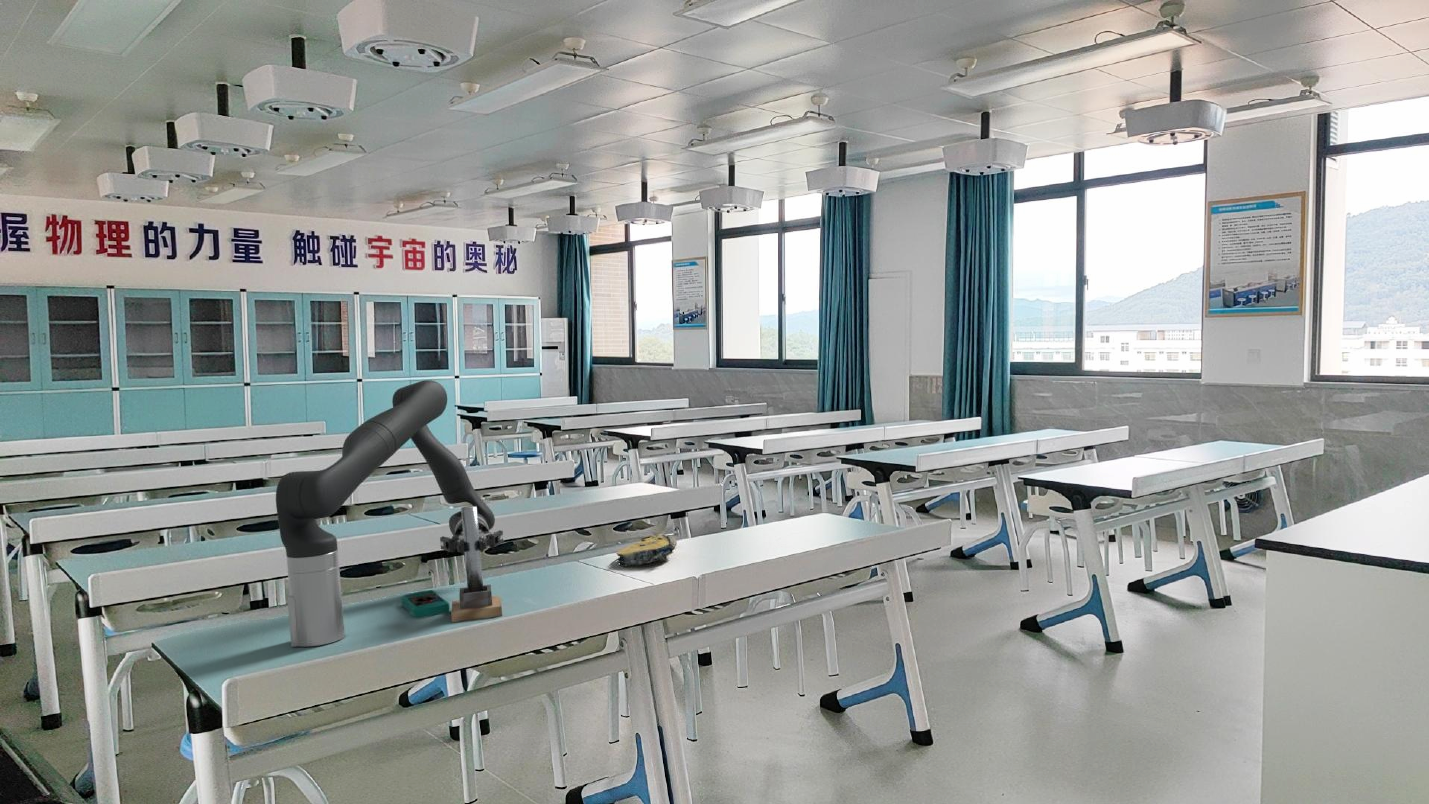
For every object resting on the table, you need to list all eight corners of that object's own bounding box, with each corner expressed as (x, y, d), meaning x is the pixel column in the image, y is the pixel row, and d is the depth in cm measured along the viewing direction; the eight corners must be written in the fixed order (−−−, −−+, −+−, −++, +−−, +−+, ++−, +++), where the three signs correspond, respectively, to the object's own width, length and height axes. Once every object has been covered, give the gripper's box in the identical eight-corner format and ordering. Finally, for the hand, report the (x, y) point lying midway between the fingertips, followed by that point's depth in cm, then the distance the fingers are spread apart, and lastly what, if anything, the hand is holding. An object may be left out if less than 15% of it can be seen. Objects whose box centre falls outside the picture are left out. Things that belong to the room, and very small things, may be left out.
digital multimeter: (415, 620, 196) (414, 607, 195) (401, 606, 209) (400, 593, 208) (450, 614, 199) (449, 600, 199) (434, 600, 212) (433, 588, 212)
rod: (467, 595, 195) (461, 509, 194) (467, 591, 198) (461, 507, 197) (483, 593, 196) (477, 507, 195) (483, 589, 199) (476, 505, 198)
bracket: (451, 622, 191) (450, 597, 190) (452, 610, 200) (451, 587, 200) (502, 615, 193) (500, 591, 193) (500, 604, 203) (499, 581, 203)
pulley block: (691, 521, 256) (655, 544, 227) (695, 542, 256) (660, 568, 227) (643, 530, 260) (602, 553, 231) (648, 551, 260) (607, 577, 231)
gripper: (437, 520, 208) (435, 533, 191) (502, 513, 212) (505, 526, 195) (440, 553, 208) (438, 569, 192) (505, 546, 212) (508, 561, 195)
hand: (472, 547), depth 193 cm, fingers closed on rod, 3 cm apart
